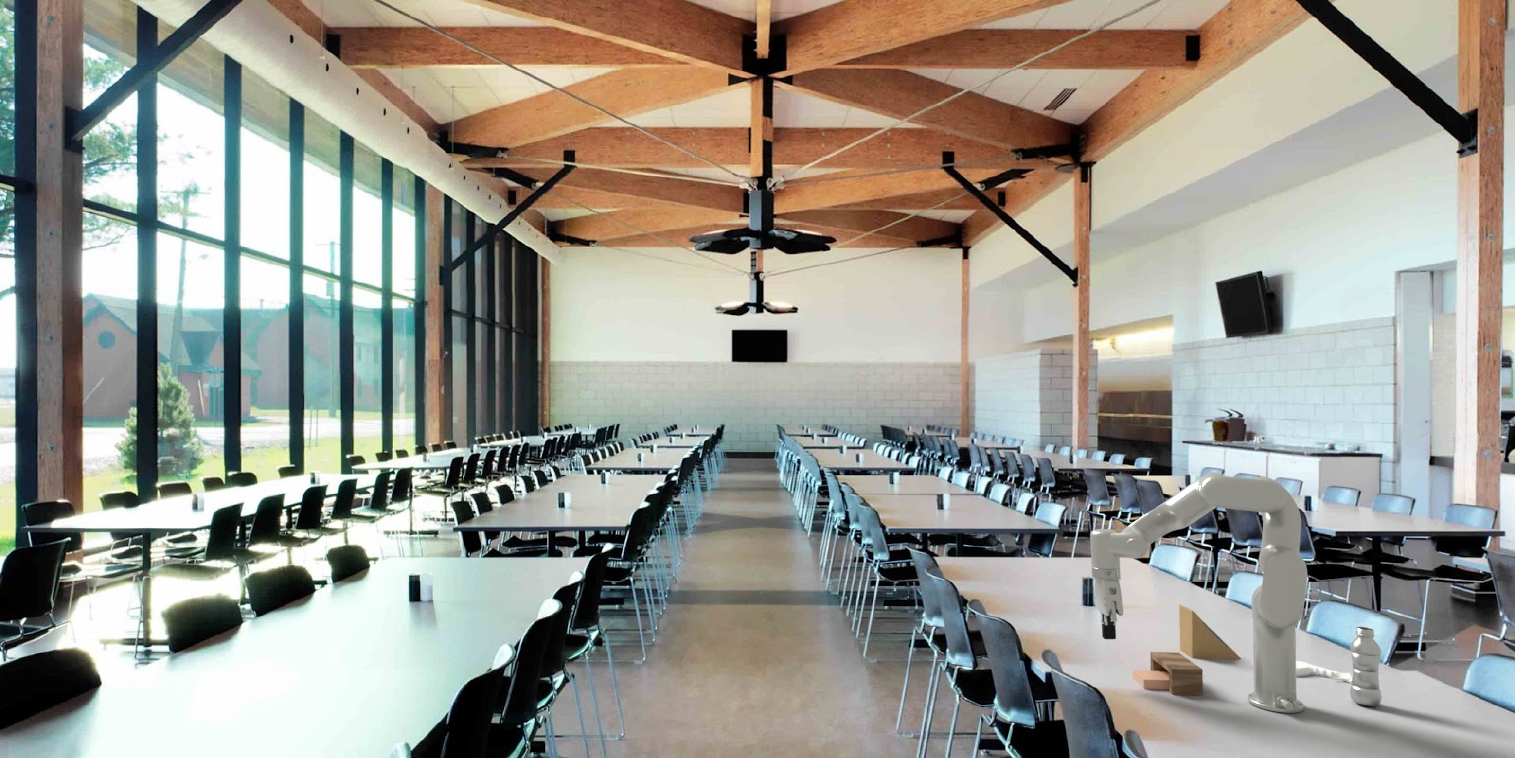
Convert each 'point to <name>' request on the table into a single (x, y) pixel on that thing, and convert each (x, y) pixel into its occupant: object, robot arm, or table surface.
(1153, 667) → the wooden bridge block
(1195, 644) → the sandwich container
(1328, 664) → the table surface
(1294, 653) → the robot arm
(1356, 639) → the plastic bottle
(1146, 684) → the peach flat block
